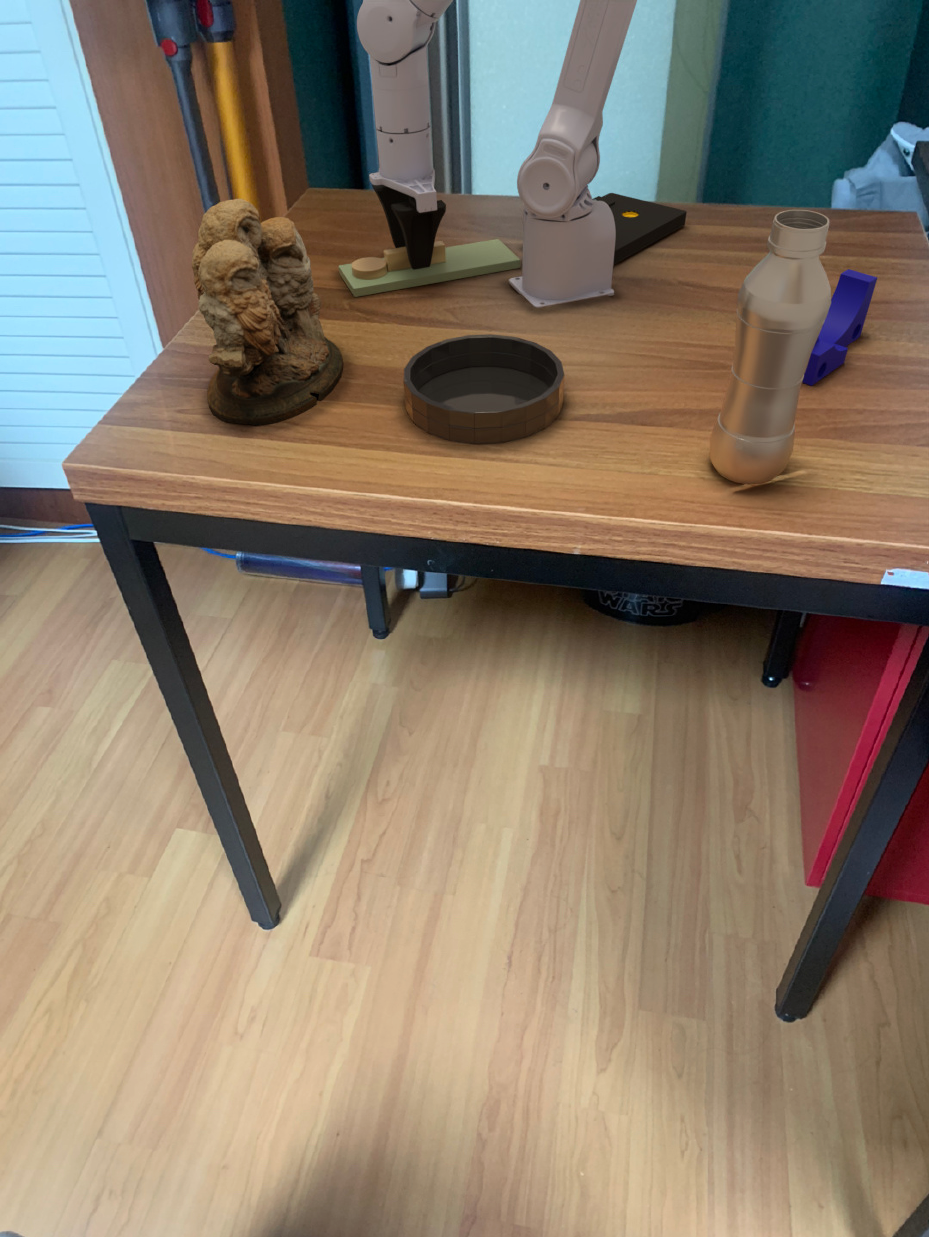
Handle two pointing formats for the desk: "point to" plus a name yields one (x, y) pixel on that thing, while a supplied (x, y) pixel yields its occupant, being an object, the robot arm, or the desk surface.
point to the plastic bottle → (772, 350)
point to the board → (439, 268)
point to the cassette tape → (640, 223)
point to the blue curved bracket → (840, 324)
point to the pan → (483, 388)
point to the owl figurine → (261, 317)
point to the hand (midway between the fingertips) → (412, 257)
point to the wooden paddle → (391, 262)
